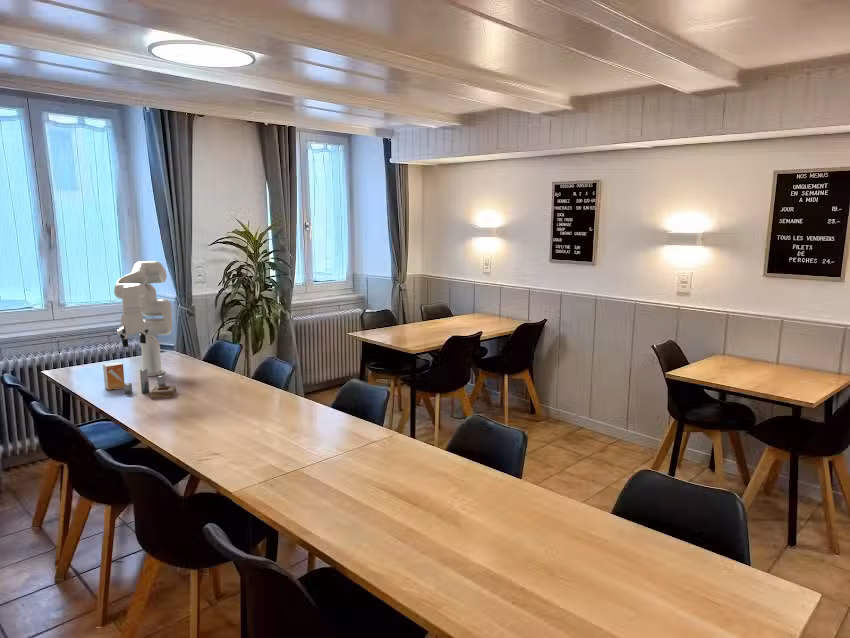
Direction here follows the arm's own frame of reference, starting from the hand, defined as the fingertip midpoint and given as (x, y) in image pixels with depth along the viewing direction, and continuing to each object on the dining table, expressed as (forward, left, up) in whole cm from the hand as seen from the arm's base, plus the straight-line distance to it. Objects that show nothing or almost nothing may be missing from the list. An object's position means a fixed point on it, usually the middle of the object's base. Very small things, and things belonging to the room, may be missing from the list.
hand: (134, 345), depth 286 cm
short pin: (-5, -6, -26) cm, 27 cm away
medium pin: (-5, +10, -26) cm, 28 cm away
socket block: (+2, +12, -26) cm, 29 cm away
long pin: (-5, +2, -26) cm, 27 cm away
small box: (-16, -15, -26) cm, 34 cm away
